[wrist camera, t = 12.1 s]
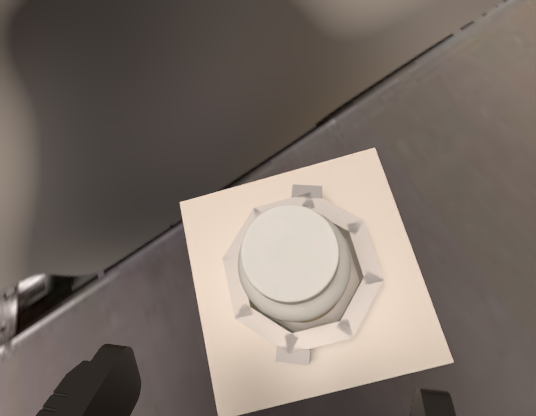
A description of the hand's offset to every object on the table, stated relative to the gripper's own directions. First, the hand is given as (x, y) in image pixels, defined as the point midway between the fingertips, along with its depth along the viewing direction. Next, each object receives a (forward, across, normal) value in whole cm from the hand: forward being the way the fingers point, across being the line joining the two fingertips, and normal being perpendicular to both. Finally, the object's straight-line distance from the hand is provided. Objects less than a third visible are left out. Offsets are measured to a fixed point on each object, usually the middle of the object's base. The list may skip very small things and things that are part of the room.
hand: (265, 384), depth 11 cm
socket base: (+13, 0, +7) cm, 15 cm away
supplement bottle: (+12, 0, +6) cm, 14 cm away
